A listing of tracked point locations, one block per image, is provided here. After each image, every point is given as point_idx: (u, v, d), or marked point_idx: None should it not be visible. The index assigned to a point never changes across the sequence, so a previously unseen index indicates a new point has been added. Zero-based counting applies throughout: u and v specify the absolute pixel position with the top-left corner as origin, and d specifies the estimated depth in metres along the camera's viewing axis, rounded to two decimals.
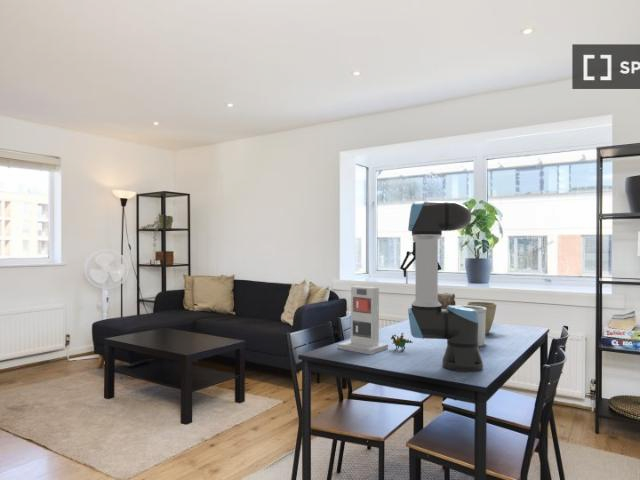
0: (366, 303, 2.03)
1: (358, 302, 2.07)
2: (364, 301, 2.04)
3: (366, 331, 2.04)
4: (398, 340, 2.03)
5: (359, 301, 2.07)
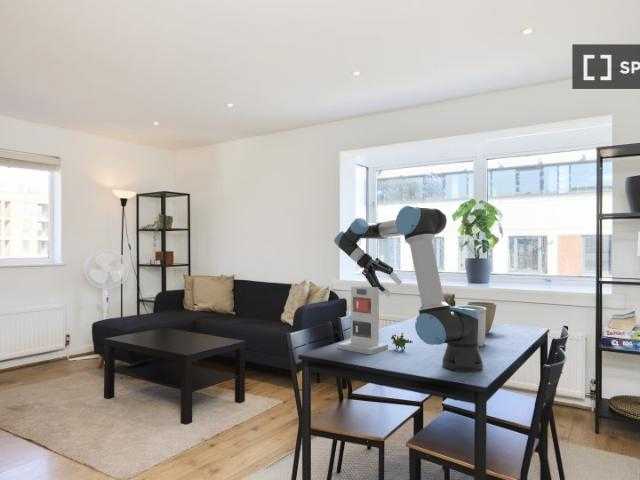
0: (366, 303, 2.03)
1: (358, 302, 2.07)
2: (364, 301, 2.04)
3: (366, 331, 2.04)
4: (398, 340, 2.03)
5: (359, 301, 2.07)
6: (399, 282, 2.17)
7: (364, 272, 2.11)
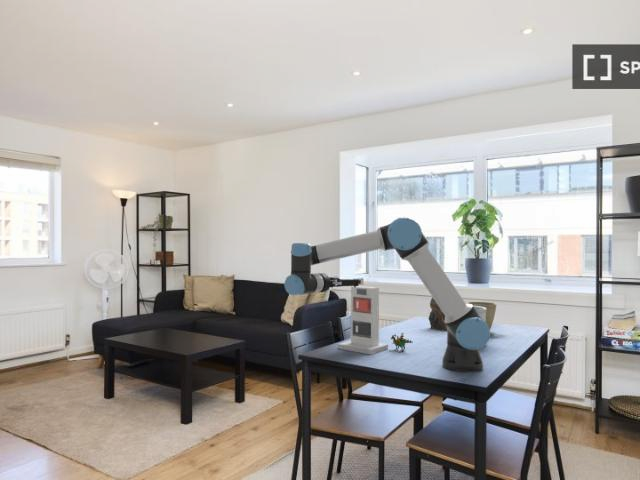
0: (366, 303, 2.03)
1: (358, 302, 2.07)
2: (364, 301, 2.04)
3: (366, 331, 2.04)
4: (398, 340, 2.03)
5: (359, 301, 2.07)
6: None
7: (340, 282, 1.78)
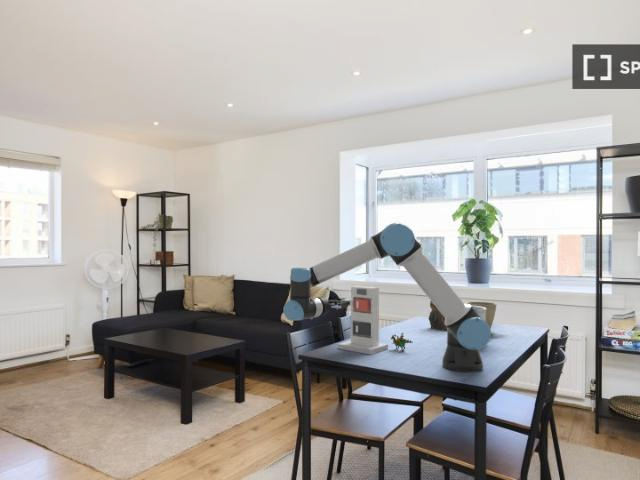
0: (366, 303, 2.03)
1: (358, 302, 2.07)
2: (364, 301, 2.04)
3: (366, 331, 2.04)
4: (398, 340, 2.03)
5: (359, 301, 2.07)
6: (350, 301, 1.95)
7: (341, 306, 1.80)
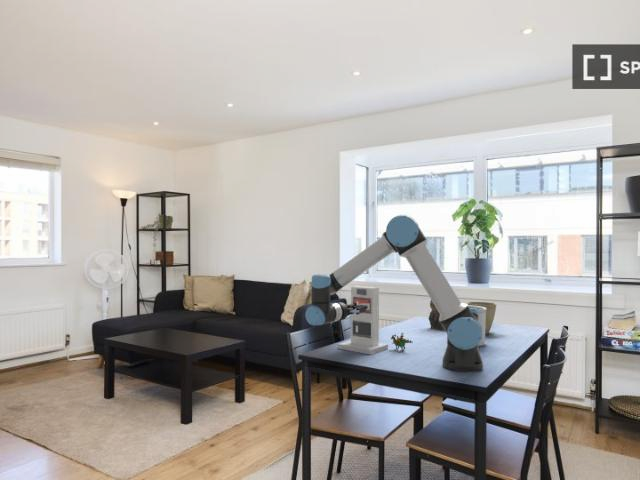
0: None
1: (358, 302, 2.07)
2: (364, 301, 2.04)
3: (366, 331, 2.04)
4: (398, 340, 2.03)
5: (359, 301, 2.07)
6: None
7: (359, 310, 1.88)
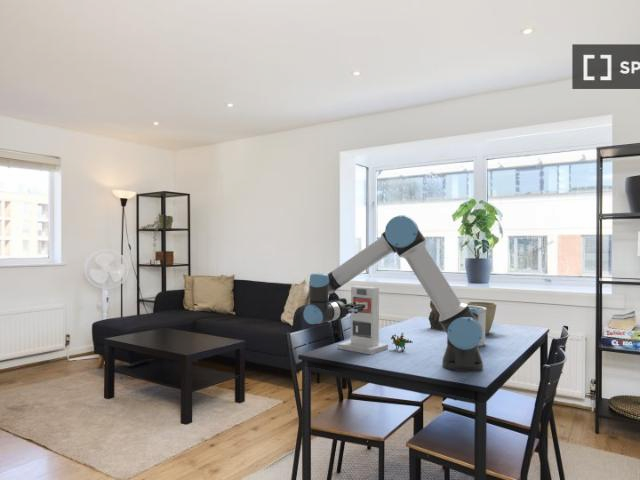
0: (369, 303, 2.05)
1: (358, 302, 2.06)
2: (366, 301, 2.05)
3: (366, 331, 2.04)
4: (398, 340, 2.03)
5: (359, 301, 2.06)
6: (365, 304, 2.03)
7: (357, 309, 1.88)
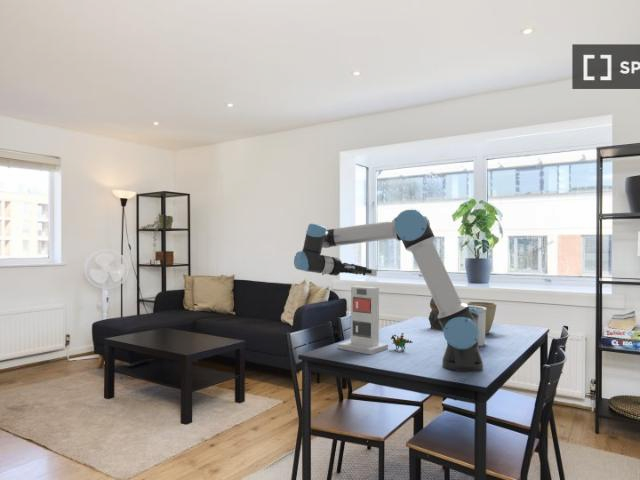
0: (368, 303, 2.04)
1: (358, 302, 2.06)
2: (366, 301, 2.05)
3: (366, 331, 2.04)
4: (398, 340, 2.03)
5: (359, 301, 2.06)
6: None
7: (354, 266, 1.87)
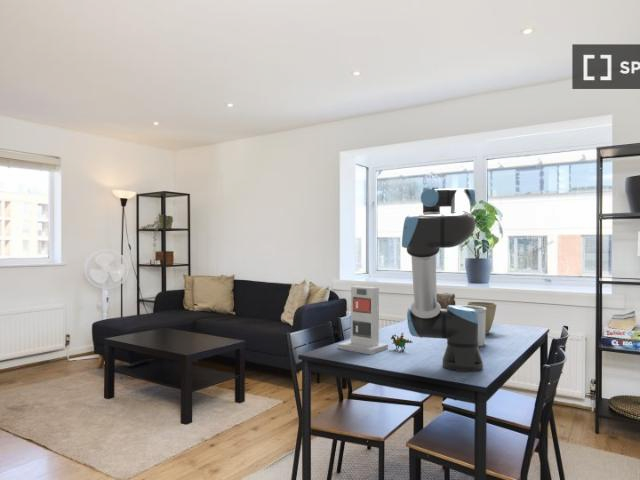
0: (368, 303, 2.04)
1: (358, 302, 2.06)
2: (366, 301, 2.05)
3: (366, 331, 2.04)
4: (398, 340, 2.03)
5: (359, 301, 2.06)
6: None
7: None
